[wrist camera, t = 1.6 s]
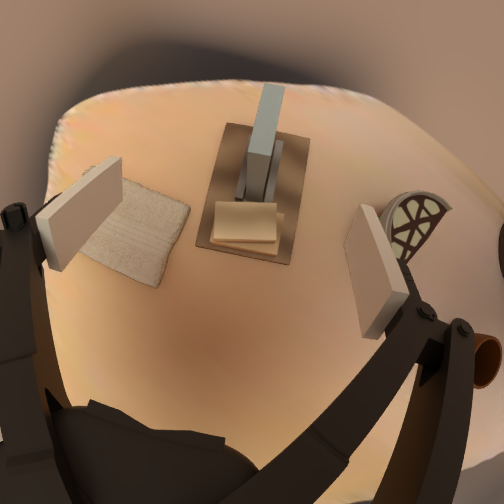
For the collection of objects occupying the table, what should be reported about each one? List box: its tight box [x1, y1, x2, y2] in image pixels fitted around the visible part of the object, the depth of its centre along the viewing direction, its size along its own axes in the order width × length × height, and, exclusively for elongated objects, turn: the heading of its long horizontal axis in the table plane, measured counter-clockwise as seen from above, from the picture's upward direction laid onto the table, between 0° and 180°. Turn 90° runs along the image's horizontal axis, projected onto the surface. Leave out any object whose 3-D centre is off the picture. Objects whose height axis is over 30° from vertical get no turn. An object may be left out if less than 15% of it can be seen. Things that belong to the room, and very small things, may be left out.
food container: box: [378, 191, 453, 264], centre depth 35 cm, size 12×6×10 cm, turn 133°
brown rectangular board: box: [196, 123, 310, 265], centre depth 38 cm, size 18×12×3 cm, turn 169°
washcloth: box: [79, 166, 190, 288], centre depth 38 cm, size 12×18×3 cm, turn 68°
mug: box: [473, 333, 502, 389], centre depth 33 cm, size 12×8×9 cm, turn 68°
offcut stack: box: [210, 201, 285, 257], centre depth 36 cm, size 5×8×5 cm
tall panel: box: [246, 83, 285, 203], centre depth 32 cm, size 8×2×14 cm, turn 169°
